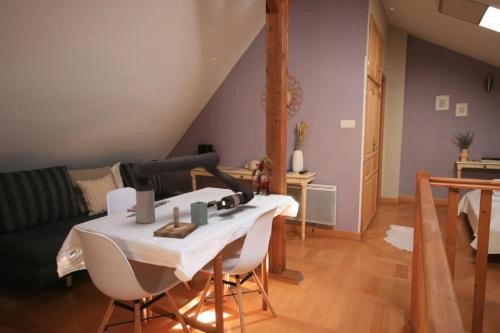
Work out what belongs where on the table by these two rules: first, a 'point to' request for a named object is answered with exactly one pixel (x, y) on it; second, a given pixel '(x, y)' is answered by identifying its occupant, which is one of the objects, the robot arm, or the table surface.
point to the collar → (199, 213)
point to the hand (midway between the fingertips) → (211, 207)
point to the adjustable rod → (154, 202)
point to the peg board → (176, 233)
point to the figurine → (263, 175)
